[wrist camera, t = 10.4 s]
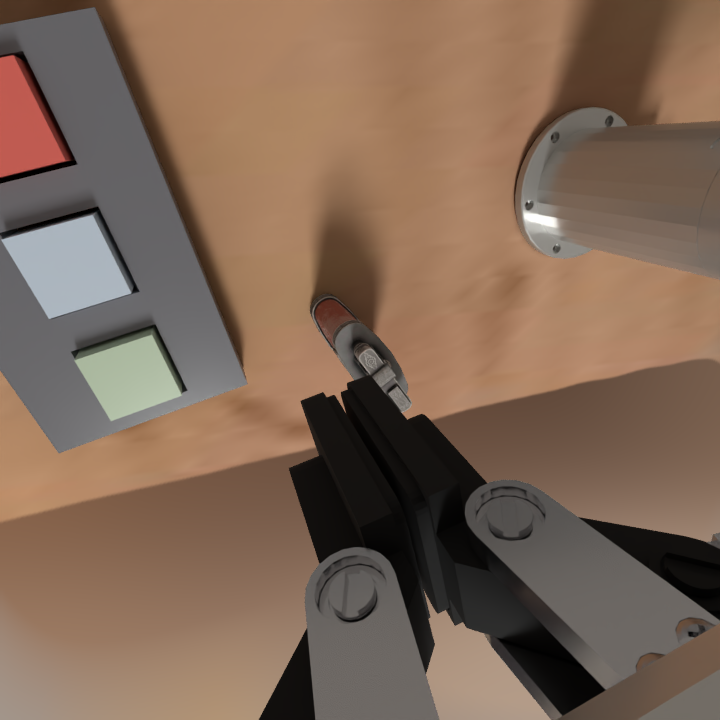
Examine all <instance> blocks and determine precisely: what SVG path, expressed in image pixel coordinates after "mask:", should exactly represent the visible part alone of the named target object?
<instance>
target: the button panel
mask: <svg viewBox="0 0 720 720" xmlns="http://www.w3.org/2000/svg"><path fill="white" fill-rule="evenodd" d="M11 55H14V56H16V57H18V58H20V59H21V60H23V61H25V62H27V63H29V65H30V67H31V69H32V71H33V73H34V75H35V77H36V79H37V81H38V83H39V85H40V87H41V89H42V91H43V93H44V95H45V98H46V100H47V102H48V104H49V106H50V108H51V110H52V112H53V114H54V116H55V118H56V120H57V122H58V124H59V126H60V128H61V131H62V133H63V135H64V137H65V139H66V141H67V143H68V145H69V147H70V149H71V151H72V153H73V155H74V157H75V159H76V161H77V165H73V166H69V167H65V168H61V169H57V170H53V171H49V172H45V173H41V174H37V175H33V176H29V177H25V178H21V179H17V180H13V181H9V182H5V183H1V184H0V371H1V372H2V373H3V375H4V376H5V378H6V379H7V380H8V382H9V383H10V385H11V386H12V388H13V389H14V390H15V392H16V393H17V395H18V396H19V398H20V399H21V400H22V402H23V403H24V405H25V406H26V407H27V409H28V410H29V412H30V413H31V415H32V416H33V417H34V419H35V420H36V422H37V423H38V424H39V426H40V427H41V429H42V430H43V432H44V433H45V434H46V436H47V437H48V439H49V440H50V442H51V443H52V444H53V446H54V447H55V449H56V450H57V451H58V453H61V452H64V451H66V450H69V449H72V448H75V447H77V446H80V445H83V444H86V443H88V442H91V441H94V440H96V439H99V438H102V437H105V436H107V435H110V434H113V433H116V432H118V431H121V430H124V429H127V428H129V427H132V426H135V425H137V424H140V423H143V422H146V421H148V420H151V419H154V418H157V417H159V416H162V415H165V414H168V413H170V412H173V411H176V410H178V409H181V408H184V407H187V406H189V405H192V404H195V403H198V402H200V401H203V400H206V399H208V398H211V397H214V396H217V395H219V394H222V393H225V392H228V391H230V390H233V389H236V388H239V387H241V386H244V385H247V380H246V376H245V373H244V369H243V366H242V364H241V361H240V359H239V356H238V354H237V351H236V349H235V346H234V344H233V341H232V339H231V336H230V334H229V331H228V329H227V326H226V324H225V322H224V319H223V317H222V314H221V312H220V309H219V307H218V304H217V302H216V299H215V297H214V294H213V292H212V289H211V287H210V284H209V282H208V279H207V277H206V274H205V272H204V269H203V267H202V264H201V262H200V259H199V257H198V255H197V252H196V250H195V247H194V245H193V242H192V240H191V237H190V235H189V232H188V230H187V227H186V225H185V222H184V220H183V217H182V215H181V212H180V210H179V207H178V205H177V202H176V200H175V197H174V195H173V192H172V190H171V187H170V185H169V183H168V180H167V178H166V175H165V173H164V170H163V168H162V165H161V163H160V160H159V158H158V155H157V153H156V150H155V148H154V145H153V143H152V140H151V138H150V135H149V133H148V130H147V128H146V125H145V123H144V120H143V118H142V116H141V113H140V111H139V108H138V106H137V103H136V101H135V98H134V96H133V93H132V91H131V88H130V86H129V83H128V81H127V78H126V76H125V73H124V71H123V68H122V66H121V63H120V61H119V58H118V56H117V53H116V51H115V49H114V46H113V44H112V41H111V39H110V36H109V34H108V31H107V29H106V26H105V24H104V21H103V20H102V18H101V16H100V15H99V13H98V12H97V10H96V8H95V7H92V8H87V9H82V10H76V11H71V12H66V13H60V14H55V15H50V16H44V17H39V18H34V19H28V20H23V21H18V22H13V23H7V24H2V25H0V58H1V57H6V56H11ZM97 206H98V207H99V209H100V211H101V213H102V215H103V217H104V219H105V221H106V223H107V225H108V227H109V229H110V232H111V234H112V236H113V238H114V240H115V242H116V244H117V246H118V248H119V250H120V252H121V254H122V256H123V258H124V260H125V262H126V265H127V267H128V269H129V271H130V273H131V275H132V277H133V279H134V281H135V285H134V288H133V291H132V293H131V294H128V295H125V296H122V297H118V298H115V299H112V300H109V301H105V302H102V303H99V304H96V305H93V306H89V307H86V308H83V309H80V310H76V311H73V312H70V313H67V314H64V315H60V316H57V317H54V318H51V319H49V318H48V316H47V315H46V313H45V311H44V310H43V308H42V306H41V305H40V303H39V302H38V300H37V298H36V297H35V295H34V293H33V292H32V290H31V288H30V287H29V285H28V283H27V282H26V280H25V278H24V277H23V275H22V273H21V272H20V270H19V269H18V267H17V265H16V264H15V262H14V260H13V259H12V257H11V255H10V254H9V252H8V250H7V249H6V247H5V245H4V244H3V242H2V239H4V238H6V237H8V236H10V235H12V234H14V233H16V232H18V229H17V228H20V227H23V226H27V225H31V224H34V223H38V222H42V221H46V220H49V219H53V218H57V217H60V216H64V215H68V214H71V213H75V212H79V211H83V210H86V209H90V208H94V207H97ZM154 324H156V326H157V328H158V330H159V333H160V335H161V337H162V339H163V341H164V343H165V345H166V347H167V349H168V351H169V353H170V355H171V357H172V359H173V361H174V363H175V366H176V368H177V370H178V372H179V374H180V376H181V378H182V396H180V397H177V398H174V399H171V400H168V401H166V402H163V403H160V404H157V405H155V406H152V407H149V408H146V409H144V410H141V411H138V412H135V413H132V414H130V415H127V416H124V417H121V418H119V419H116V420H113V421H111V420H110V419H109V417H108V415H107V414H106V412H105V410H104V409H103V407H102V405H101V404H100V402H99V400H98V399H97V397H96V396H95V394H94V392H93V391H92V389H91V387H90V386H89V384H88V382H87V381H86V379H85V377H84V376H83V374H82V372H81V371H80V369H79V367H78V366H77V364H76V363H75V361H74V360H75V358H76V356H77V354H78V352H79V350H80V348H83V347H87V346H90V345H93V344H96V343H99V342H102V341H105V340H108V339H111V338H114V337H117V336H120V335H123V334H126V333H129V332H132V331H136V330H139V329H142V328H145V327H148V326H151V325H154Z"/></svg>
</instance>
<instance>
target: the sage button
mask: <svg viewBox="0 0 720 720" xmlns="http://www.w3.org/2000/svg"><path fill="white" fill-rule="evenodd" d="M74 361H75V363H76V364H77V366H78V367H79V369H80V371H81V372H82V374H83V376H84V377H85V379H86V381H87V382H88V384H89V386H90V387H91V389H92V391H93V392H94V394H95V396H96V397H97V399H98V400H99V402H100V404H101V405H102V407H103V409H104V410H105V412H106V414H107V415H108V417H109V419H110V420H111V421H113V420H116V419H119V418H121V417H124V416H127V415H130V414H132V413H135V412H138V411H141V410H144V409H146V408H149V407H152V406H155V405H157V404H160V403H163V402H166V401H168V400H171V399H174V398H177V397H180V396H182V378H181V376H180V374H179V372H178V370H177V368H176V366H175V363H174V361H173V359H172V357H171V355H170V353H169V351H168V349H167V347H166V345H165V343H164V341H163V339H162V337H161V335H160V333H159V330H158V328H157V326H156V324H154V325H151V326H148V327H145V328H142V329H139V330H136V331H132V332H129V333H126V334H123V335H120V336H117V337H114V338H111V339H108V340H105V341H102V342H99V343H96V344H93V345H90V346H87V347H83V348H80V350H79V352H78V354H77V356H76V358H75V360H74Z"/></svg>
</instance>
